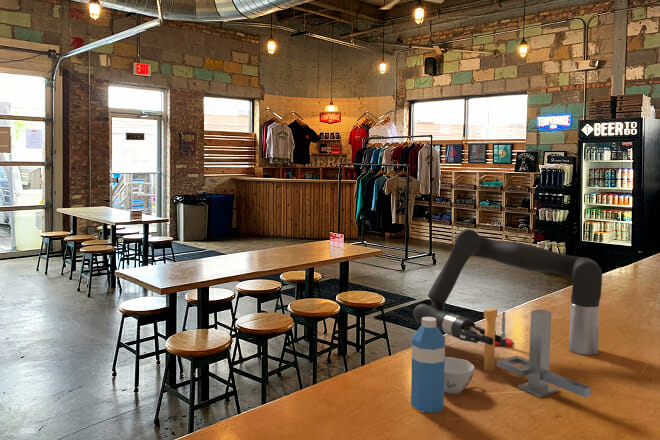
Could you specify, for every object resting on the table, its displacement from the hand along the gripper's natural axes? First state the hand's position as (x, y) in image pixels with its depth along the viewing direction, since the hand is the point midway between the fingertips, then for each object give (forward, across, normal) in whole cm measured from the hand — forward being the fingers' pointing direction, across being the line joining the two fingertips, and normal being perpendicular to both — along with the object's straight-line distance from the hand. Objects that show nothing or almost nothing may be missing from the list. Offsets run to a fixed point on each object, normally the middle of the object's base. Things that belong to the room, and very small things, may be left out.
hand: (496, 340), depth 177 cm
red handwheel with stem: (-19, +24, +11) cm, 33 cm away
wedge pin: (-3, 0, +10) cm, 11 cm away
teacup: (+2, -20, +11) cm, 23 cm away
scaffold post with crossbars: (+18, 0, +11) cm, 21 cm away
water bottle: (+7, -35, +11) cm, 37 cm away
